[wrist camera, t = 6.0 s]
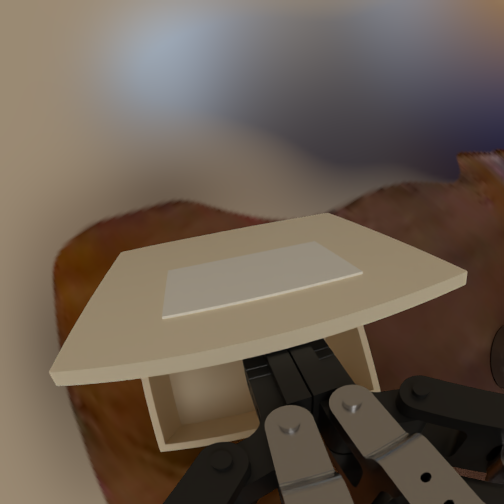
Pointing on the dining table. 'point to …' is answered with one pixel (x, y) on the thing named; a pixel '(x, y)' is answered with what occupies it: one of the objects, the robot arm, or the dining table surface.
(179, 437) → the cardboard box
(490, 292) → the dining table surface
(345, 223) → the box lid
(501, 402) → the robot arm
